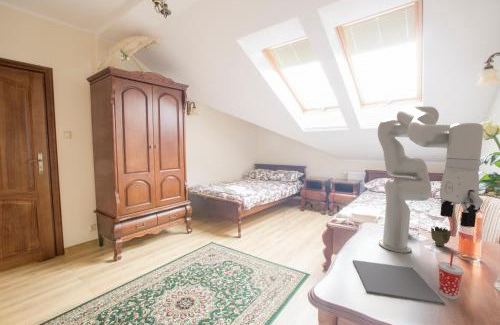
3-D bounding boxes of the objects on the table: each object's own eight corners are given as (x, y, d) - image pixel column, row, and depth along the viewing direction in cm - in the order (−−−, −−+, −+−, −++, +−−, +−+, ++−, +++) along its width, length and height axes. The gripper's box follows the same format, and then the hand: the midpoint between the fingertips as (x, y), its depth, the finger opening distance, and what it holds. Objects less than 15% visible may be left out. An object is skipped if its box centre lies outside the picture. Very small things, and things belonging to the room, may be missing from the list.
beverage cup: (435, 285, 77) (439, 245, 76) (460, 294, 73) (465, 251, 72) (435, 294, 73) (439, 251, 71) (461, 303, 69) (466, 258, 68)
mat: (352, 261, 92) (352, 259, 92) (412, 269, 87) (412, 267, 87) (366, 292, 72) (367, 290, 72) (444, 304, 68) (444, 302, 68)
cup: (443, 250, 105) (445, 232, 104) (426, 243, 112) (427, 227, 111) (453, 247, 108) (454, 231, 107) (435, 241, 115) (436, 225, 114)
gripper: (431, 162, 79) (427, 212, 80) (467, 166, 62) (460, 229, 63) (457, 163, 77) (452, 214, 78) (501, 168, 60) (493, 232, 62)
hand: (456, 221), depth 71 cm, fingers open, 9 cm apart
